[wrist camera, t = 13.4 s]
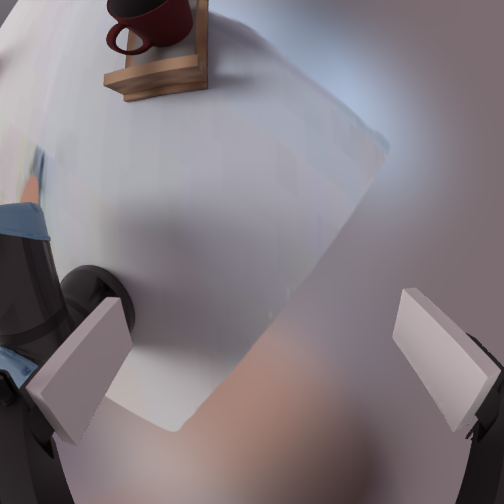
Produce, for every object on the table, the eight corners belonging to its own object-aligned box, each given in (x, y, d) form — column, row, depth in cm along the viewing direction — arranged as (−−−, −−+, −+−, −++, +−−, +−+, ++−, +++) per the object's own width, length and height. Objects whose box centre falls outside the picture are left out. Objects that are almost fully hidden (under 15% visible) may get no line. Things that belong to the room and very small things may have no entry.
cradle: (127, 102, 32) (103, 92, 25) (136, 0, 26) (120, -20, 19) (207, 89, 32) (197, 72, 25) (209, -14, 26) (202, -39, 19)
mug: (163, 77, 30) (130, 49, 19) (117, 60, 29) (77, 35, 18) (210, 14, 27) (197, -29, 16) (162, 0, 25) (138, -37, 15)
